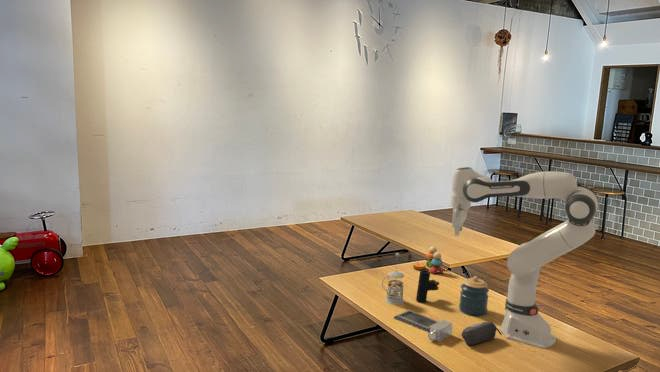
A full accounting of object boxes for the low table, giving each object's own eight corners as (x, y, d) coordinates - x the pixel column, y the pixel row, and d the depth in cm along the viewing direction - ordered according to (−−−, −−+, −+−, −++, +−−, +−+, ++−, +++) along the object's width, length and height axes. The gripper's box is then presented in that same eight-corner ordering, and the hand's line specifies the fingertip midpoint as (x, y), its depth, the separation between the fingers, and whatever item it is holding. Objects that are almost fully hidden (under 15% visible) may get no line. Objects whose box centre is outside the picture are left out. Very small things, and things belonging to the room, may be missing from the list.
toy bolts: (409, 265, 301) (410, 245, 298) (434, 263, 306) (435, 244, 304) (423, 275, 284) (424, 254, 282) (449, 273, 289) (450, 253, 287)
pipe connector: (430, 297, 253) (434, 269, 251) (437, 300, 248) (441, 272, 246) (413, 299, 246) (417, 270, 244) (420, 302, 242) (425, 273, 240)
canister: (456, 312, 233) (458, 277, 230) (462, 303, 244) (465, 269, 241) (484, 319, 227) (487, 283, 224) (489, 309, 238) (492, 274, 235)
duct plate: (442, 326, 218) (442, 322, 218) (428, 333, 210) (428, 329, 210) (408, 312, 231) (408, 308, 231) (393, 318, 224) (393, 315, 223)
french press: (404, 305, 239) (407, 256, 235) (380, 303, 241) (383, 254, 237) (405, 298, 248) (408, 251, 244) (382, 295, 250) (384, 248, 246)
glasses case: (483, 332, 213) (485, 316, 212) (504, 342, 204) (505, 325, 203) (455, 342, 203) (456, 325, 202) (475, 353, 194) (476, 335, 193)
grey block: (451, 336, 209) (452, 323, 208) (435, 345, 200) (436, 331, 199) (442, 332, 212) (443, 319, 211) (426, 341, 203) (427, 328, 202)
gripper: (464, 208, 208) (462, 239, 210) (470, 200, 226) (468, 229, 228) (449, 206, 210) (447, 237, 212) (456, 198, 229) (454, 227, 231)
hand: (458, 233), depth 220 cm, fingers open, 8 cm apart
